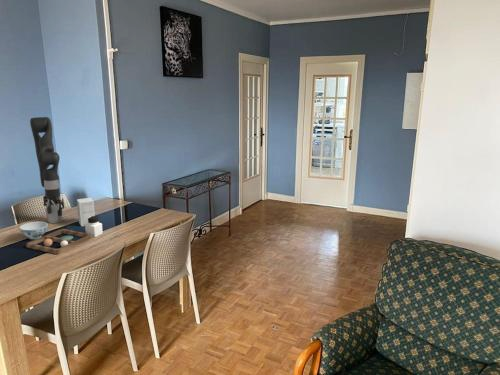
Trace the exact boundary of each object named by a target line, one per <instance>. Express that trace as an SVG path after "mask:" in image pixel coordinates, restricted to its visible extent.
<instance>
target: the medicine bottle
mask: <svg viewBox="0 0 500 375" xmlns="http://www.w3.org/2000/svg"><path fill="white" fill-rule="evenodd" d="M84 228H85V233H87V234H92V238H97V237H99V236H100V235H103V234H104V233H103V223H101V222H99V216H98V215H95V216H90V217H88V224H87V225H85V226H84Z"/></svg>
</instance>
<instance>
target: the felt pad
mask: <svg viewBox="0 0 500 375" xmlns="http://www.w3.org/2000/svg"><path fill="white" fill-rule="evenodd" d="M59 238H61V239H66V240H71V241H72V239H74V235H63V236H60V237H59Z"/></svg>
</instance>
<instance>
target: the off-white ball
mask: <svg viewBox="0 0 500 375" xmlns="http://www.w3.org/2000/svg"><path fill="white" fill-rule="evenodd" d="M59 244H60V246H61V247H63V246H66V245H68V242H67V241H65V240H64V241H62V242H61V243H59ZM61 247H60V248H61Z"/></svg>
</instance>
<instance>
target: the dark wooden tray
mask: <svg viewBox="0 0 500 375" xmlns="http://www.w3.org/2000/svg"><path fill="white" fill-rule="evenodd" d="M62 234H65V235H68V236H73V237H74V236H75V237H78V238H79V237H80V238H79V239H77V240H72V239H71V240H66V239H61V238H60V237H57V236H58V235H59V236H60V235H62ZM46 239H51V240H52V243H54V242H55V243H57V244H60V243H61V242H62V241H64V240H65V241H67V242H68V245H66V246H63V247H59V248H55V247H51V246H45V245H40V244H41V243H42V242H44V241H45V240H46ZM91 239H93V237H92V234H87V233H86V232H82V231H77V230H71V229H66V228H61V229H58V230H55V231H53V232H50V233H48V234H46V235H42V237H40V238H38V239H32V240H30V241H28V242H25V243H24V244H25V248H28V249H32V250H36V251H42V252H45V253H50V254H54V255H59V254H61V253H64V252H66V251H68V250H70V249H73V248H74V247H76V246H78V245H81V244H83V243H85V242H88V241H90V240H91Z"/></svg>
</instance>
